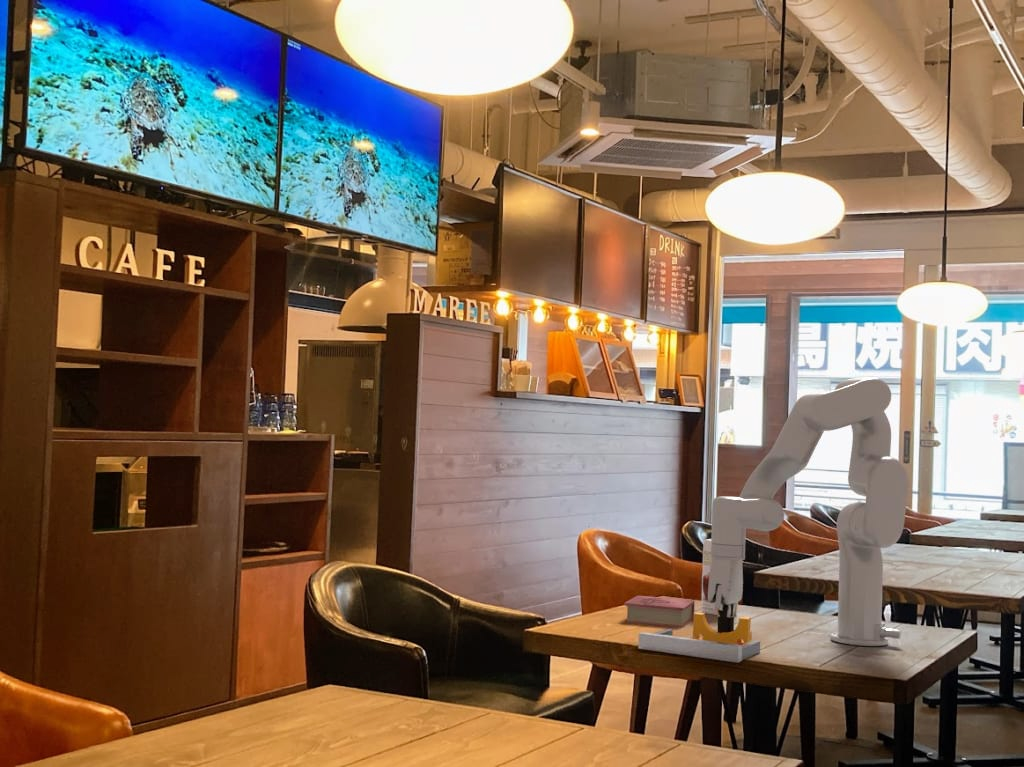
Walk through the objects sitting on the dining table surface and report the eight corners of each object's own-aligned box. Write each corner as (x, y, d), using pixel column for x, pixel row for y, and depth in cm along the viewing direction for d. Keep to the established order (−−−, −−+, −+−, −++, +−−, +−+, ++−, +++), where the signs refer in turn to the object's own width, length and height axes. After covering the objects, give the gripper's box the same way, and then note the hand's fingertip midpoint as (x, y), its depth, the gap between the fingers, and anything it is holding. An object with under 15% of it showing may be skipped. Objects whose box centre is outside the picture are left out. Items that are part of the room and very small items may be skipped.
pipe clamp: (751, 646, 252) (752, 616, 252) (747, 649, 248) (748, 619, 248) (697, 640, 256) (698, 611, 257) (692, 643, 252) (693, 613, 253)
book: (694, 620, 287) (694, 599, 287) (682, 629, 273) (683, 607, 273) (638, 614, 292) (638, 595, 292) (623, 623, 277) (624, 602, 278)
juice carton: (716, 610, 302) (718, 538, 303) (741, 615, 296) (744, 541, 296) (697, 612, 297) (699, 538, 298) (722, 617, 291) (724, 541, 292)
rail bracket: (761, 652, 243) (761, 637, 243) (738, 662, 231) (738, 646, 231) (665, 639, 254) (665, 625, 254) (638, 648, 242) (638, 633, 242)
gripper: (724, 548, 265) (721, 628, 264) (699, 552, 252) (696, 637, 251) (755, 551, 261) (753, 632, 260) (732, 555, 248) (729, 641, 247)
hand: (725, 634), depth 256 cm, fingers closed
